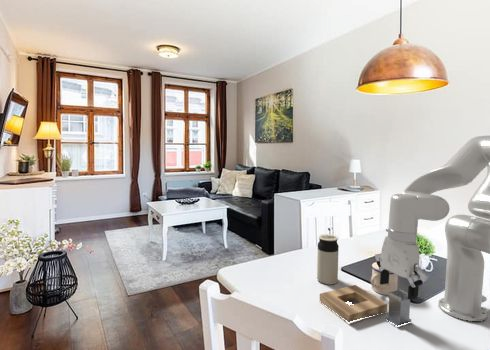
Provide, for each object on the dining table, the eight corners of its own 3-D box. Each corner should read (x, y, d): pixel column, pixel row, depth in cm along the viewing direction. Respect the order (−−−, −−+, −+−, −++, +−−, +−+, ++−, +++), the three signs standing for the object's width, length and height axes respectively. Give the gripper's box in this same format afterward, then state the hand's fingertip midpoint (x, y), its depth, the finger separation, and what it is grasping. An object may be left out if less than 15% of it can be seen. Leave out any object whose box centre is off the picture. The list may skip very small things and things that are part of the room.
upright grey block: (399, 316, 91) (400, 289, 90) (411, 323, 87) (412, 295, 87) (385, 320, 89) (387, 293, 88) (397, 328, 85) (398, 299, 84)
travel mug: (338, 285, 111) (339, 240, 109) (317, 284, 113) (318, 239, 111) (336, 276, 119) (337, 234, 117) (316, 275, 120) (317, 233, 119)
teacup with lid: (380, 282, 114) (382, 253, 113) (403, 292, 106) (404, 261, 105) (360, 289, 108) (361, 259, 107) (382, 300, 100) (383, 268, 99)
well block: (355, 292, 106) (355, 284, 106) (387, 312, 93) (387, 303, 93) (319, 301, 100) (319, 293, 99) (348, 324, 87) (348, 315, 87)
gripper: (369, 229, 92) (366, 280, 93) (421, 246, 76) (415, 308, 78) (386, 227, 95) (382, 277, 96) (439, 243, 79) (434, 302, 80)
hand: (397, 290), depth 87 cm, fingers open, 9 cm apart
